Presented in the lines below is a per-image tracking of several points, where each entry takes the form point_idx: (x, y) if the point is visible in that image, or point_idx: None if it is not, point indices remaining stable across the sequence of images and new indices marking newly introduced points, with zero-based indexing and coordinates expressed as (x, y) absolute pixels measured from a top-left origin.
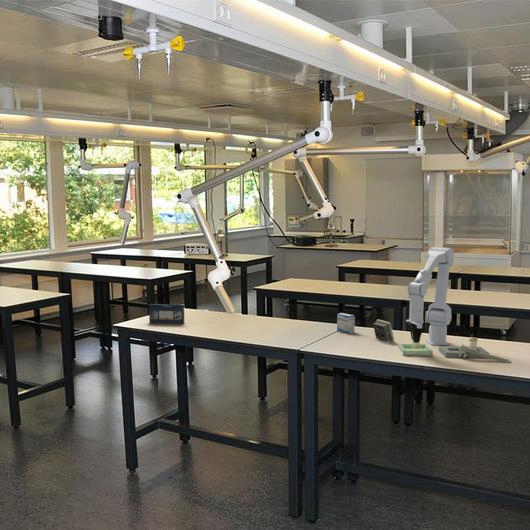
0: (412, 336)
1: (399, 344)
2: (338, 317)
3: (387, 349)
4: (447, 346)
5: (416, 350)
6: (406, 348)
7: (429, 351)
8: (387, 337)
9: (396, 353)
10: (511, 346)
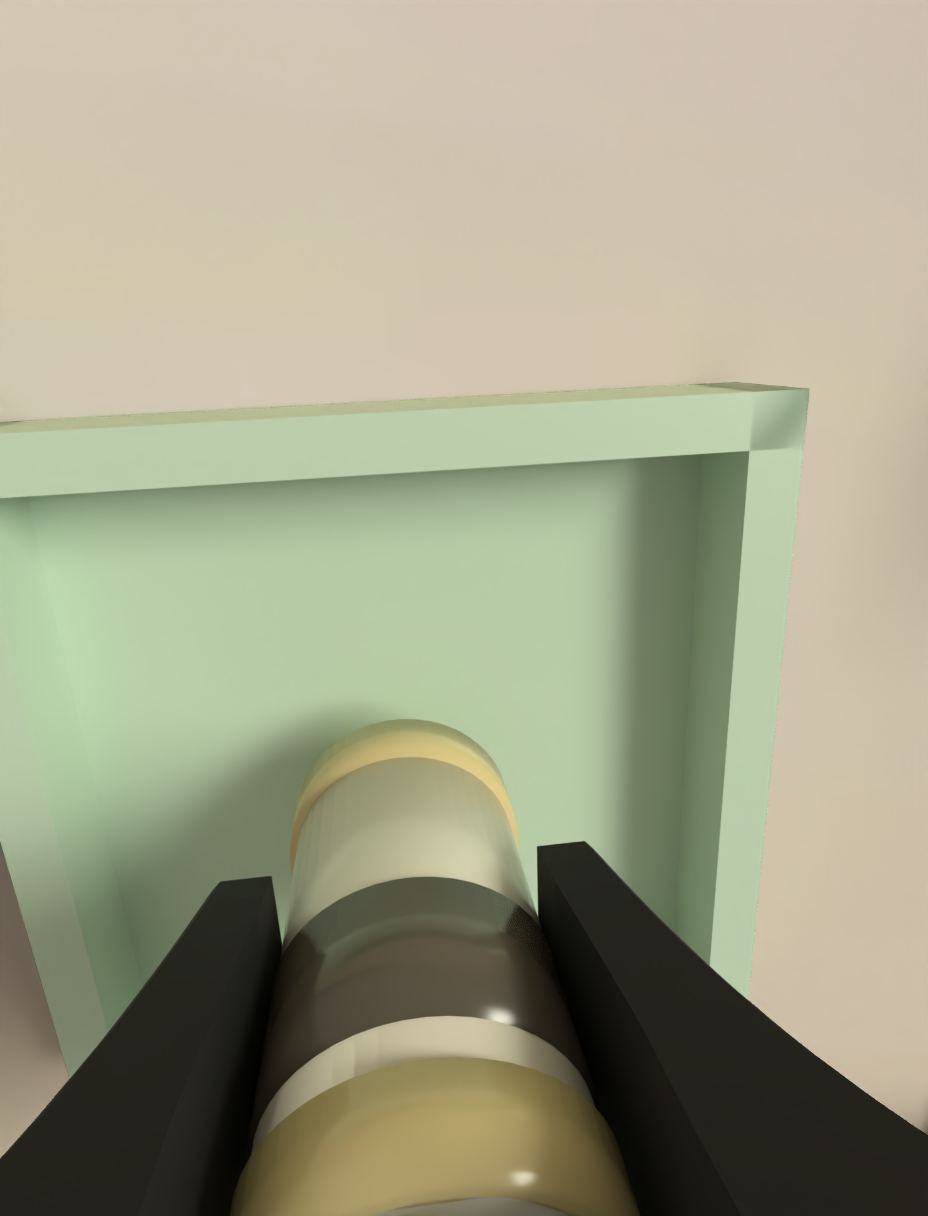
0: (395, 977)
1: (714, 404)
2: None
3: (649, 15)
4: None
5: (32, 809)
6: (630, 581)
7: (76, 1070)
8: None
9: (199, 243)
10: None
